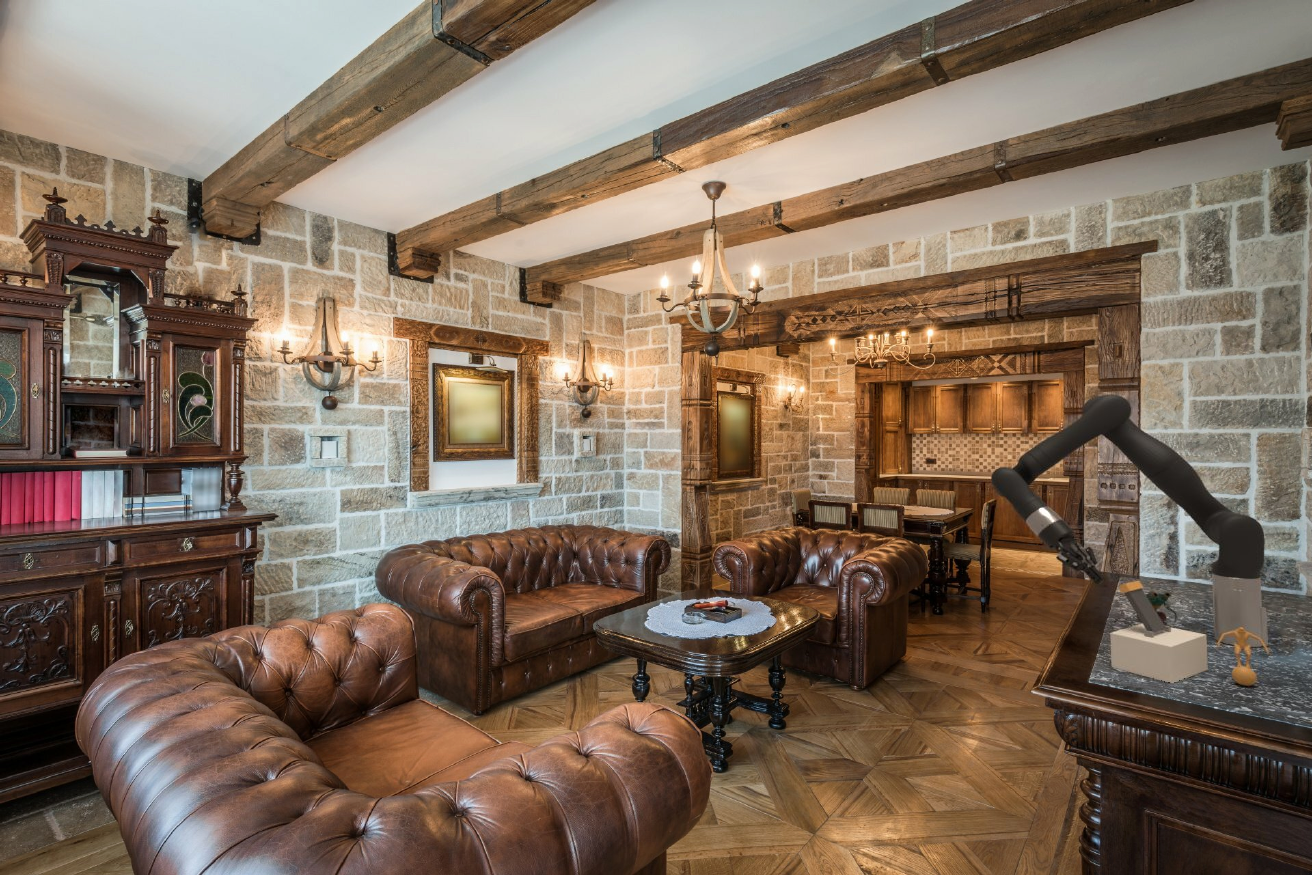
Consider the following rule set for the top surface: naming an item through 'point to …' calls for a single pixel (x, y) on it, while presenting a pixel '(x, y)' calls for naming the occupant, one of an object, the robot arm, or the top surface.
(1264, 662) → the top surface
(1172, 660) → the breaker housing
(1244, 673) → the figurine
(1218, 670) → the top surface
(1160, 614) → the binoculars
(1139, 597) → the handle
